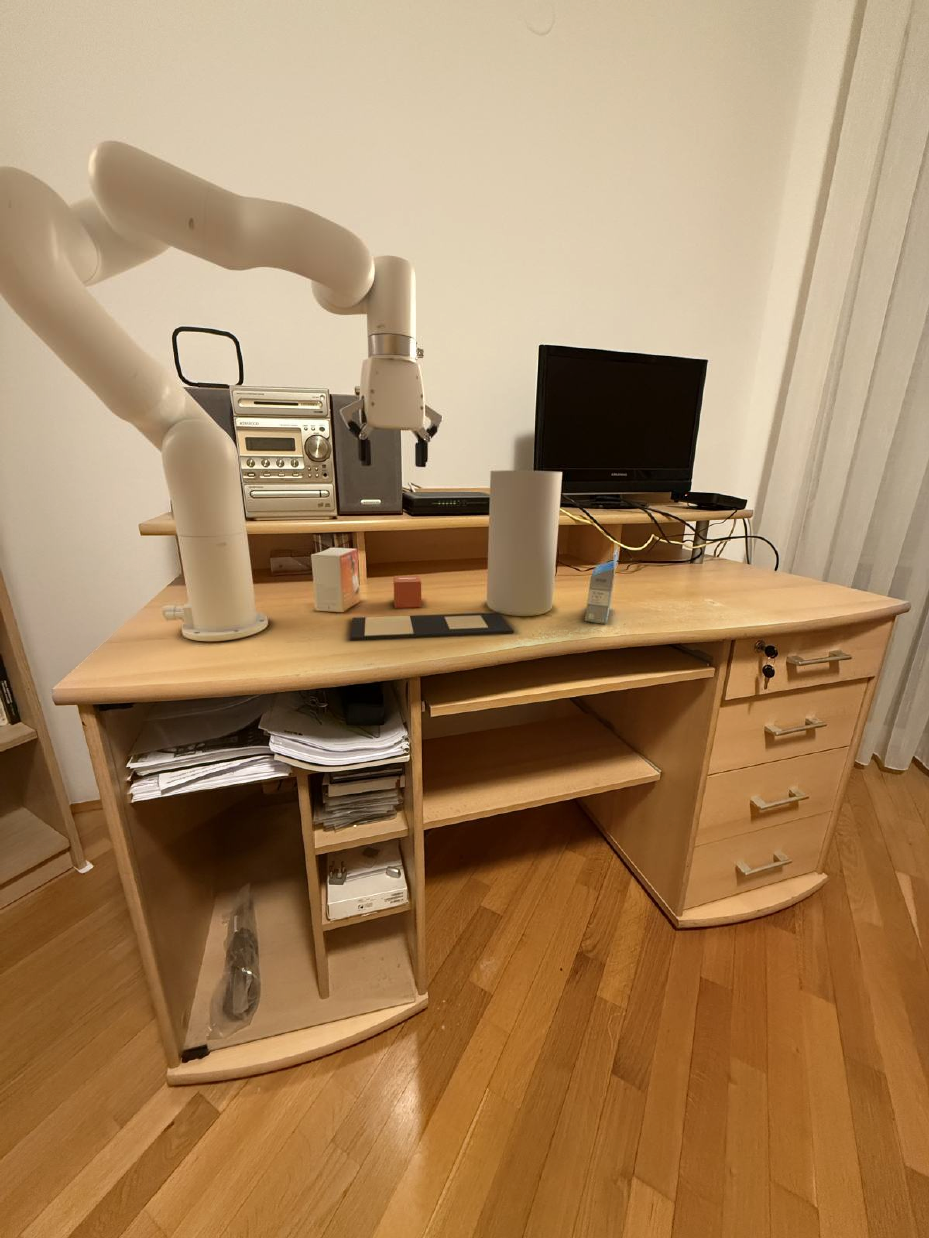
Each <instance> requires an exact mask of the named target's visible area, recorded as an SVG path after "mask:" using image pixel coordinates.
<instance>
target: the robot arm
mask: <svg viewBox="0 0 929 1238" xmlns="http://www.w3.org/2000/svg"><path fill="white" fill-rule="evenodd" d="M87 161H88V162H87V176H88V182H89V185H90V189H91V192H92V194H91V195H89V196H86V197H85V198H82V199H79V200H77V201H74V202H71V203H69V204H68V202H66V201H65V199H64V198H63V197H62V196H61V195H60V194H59V193H58V192H57V191H56V190H55V189H54V188H52V187H51V186H50V185H49V184H47V183H46V182H44V181H43V180H42V179H40V178H38V177H37V176H35V175H34V174H32V173H29V172H28V171H25V170H23V169H21V168H18V167H13V166H9V165H0V296H1V297H2V299H3V300H4V302H6V303H7V305H8V306H9V307H10V308H11V310H12V311H13V312H14V313H15V314H16V315H17V316H18V318H20V320H22V322H23V323H24V324H25V325H26V326H27V327H28V328H29V329H30V330H31V331H32V332H33V333H34V334H35V335H36V336H37V337H38V338H39V339H40V340H41V341H42V342H43V343H44V344H45V345H46V346H47V348H49V349H50V350H51V351H52V352H53V353H54V354H55V355H56V356H57V358H59V359H60V361H61V362H62V363H63V364H64V365H66V367H67V368H69V369H70V370H71V372H73V373H74V374H75V375H76V377H78V378H79V379H80V380H81V382H83V383H84V384H85V385H86V387H88V388H89V390H91V392H92V393H94V395H96V397H97V398H98V399H99V400H100V401H101V402H102V403H103V404H104V406H105V407H106V408H107V409H108V410H109V411H110V412H111V413H112V414H114V415H115V416H116V417H117V418H119V419H120V420H123V421H125V422H127V423H129V424H131V425H132V426H133V427H134V428H135V429H136V430H137V431H138V432H139V433H141V434H142V436H144V437H145V439H146V440H148V441H149V442H150V443H151V444H152V445H153V446H154V447H155V448H156V449H157V450H158V451H159V452H160V453H161V461H162V462H161V463H162V468H163V473H164V477H165V481H166V485H167V489H168V494H169V498H170V503H171V508H172V513H173V514H172V515H173V519H174V527H175V531H176V535H177V541H178V546H179V552H180V559H181V564H182V571H183V577H184V582H185V588H186V595H187V601H188V603H184V605H163V606H162V610H161V613H162V616H163V618H164V619H165V621H168V622H169V621H180V620H181V621H182V622H184V623H183V624H182V626H181V634H182V636H183V637H185V638H186V639H188V640H190V641H191V640H192V641H198V642H223V641H232V640H237V639H242V638H245V637H246V638H247V637H250V636H253V635H255V634H258V633H260V632H261V631H263V630H265V629H266V628H267V627H268V625H269V621H268V620H269V619H268V616H266V615H265V614H264V613H262V612H258V611H257V605H256V597H255V587H254V581H253V574H252V573H253V571H252V564H251V556H250V546H249V540H248V531H247V525H246V516H245V510H244V501H243V493H242V492H243V491H242V483H241V473H240V462H239V454H238V449H237V446H236V444H235V442H234V441H233V439H232V437H230V435H229V434H228V433H227V432H226V431H225V430H224V429H223V428H222V427H221V426H220V425H219V424H218V423H217V422H216V421H215V420H214V419H213V418H212V417H211V415H210V414H209V413H207V412H206V410H205V409H204V408H203V407H202V406H201V405H200V404H199V402H197V401H196V400H195V399H194V398H193V397H192V395H191V394H190V392H188V391H187V390H186V389H185V388H184V387H183V386H182V385H181V383H179V381H178V380H177V379H176V378H175V377H174V376H173V375H172V373H171V372H170V371H168V369H167V368H166V367H165V366H164V365H163V364H161V363H160V362H159V361H158V360H157V359H155V358H154V357H153V356H151V355H150V354H149V353H148V352H147V351H146V350H144V348H143V347H142V346H140V344H139V343H138V342H137V341H136V340H135V339H134V338H133V337H132V336H131V335H130V333H128V332H127V331H126V330H125V329H124V328H123V326H122V325H121V324H120V323H118V321H117V320H116V319H115V318H114V317H113V316H112V315H111V313H110V312H109V311H108V310H107V308H106V307H104V305H102V303H101V302H100V301H99V300H98V299H97V298H96V297H95V295H93V293H92V292H91V291H90V290H89V289H88V287H91V286H93V285H96V284H99V283H102V282H104V281H106V280H109V279H111V278H113V277H115V276H117V275H120V274H123V273H124V272H127V271H129V270H131V269H134V268H136V267H138V266H141V265H143V264H145V263H147V262H149V261H151V260H153V259H154V258H157V257H158V256H161V255H162V254H164V253H165V252H166V251H167V250H169V249H170V248H171V247H172V248H174V249H176V250H179V251H182V252H185V253H187V254H190V255H192V256H195V257H196V258H199V259H201V260H204V261H207V262H209V263H212V264H214V265H215V266H219V267H221V268H223V269H225V270H229V271H240V272H241V271H248V270H252V269H256V268H257V269H258V268H271V269H279V270H283V271H285V272H289V273H293V274H296V275H298V276H300V277H304V278H305V279H308V280H310V288H311V292H312V295H313V296H314V299H315V300H316V302H317V304H318V305H319V306H320V307H321V308H322V309H324V310H325V311H327V312H329V313H330V314H334V315H339V316H355V315H357V316H358V315H366V332H367V333H366V335H367V359H364V360H362V363H361V364H362V365H361V372H360V380H359V381H360V382H359V383H360V384H359V399H357V400H356V401H354V402H352V403H350V404H348V405H346V406H344V407H342V408H341V409H339V414H340V415H339V416H340V417H341V418H342V420H343V422H344V424H345V426H346V427H345V428H346V429H347V430H348V431H349V432H350V433H351V434H352V435H353V436H354V438H355V440H356V441H357V455H358V456H357V457H358V461H360V462H361V466H362V467H371V466H372V449H371V448H372V447H371V445H372V443H371V440H370V439H369V436H370V434H371V433H372V432H373V430H386V431H387V430H389V431H411V433H412V434H413V436H414V437H415V438H416V440H417V442H416V443H415V444H414V462H415V463H414V465H415V467H416V468H426V467H427V463H428V461H429V443H430V442H431V440H432V439H433V437H434V436H435V435H436V434H437V433H438V430H439V428H440V426H441V423H442V421H443V415H441V414H440V413H438V412H437V411H436V410H434V409H433V408H431V407H429V406H428V405H426V401H425V389H424V382H423V375H422V370H421V366H420V363H417V361H418V359H423V358H424V356H425V351H424V349H423V348H420V347H418V342H417V301H416V300H417V299H416V297H417V296H416V295H417V293H416V292H417V290H416V289H417V288H416V286H417V285H416V282H417V281H416V271H415V268H414V266H413V264H412V263H411V262H410V261H408V260H407V259H405V258H403V257H399V256H396V255H377V256H374V257H373V256H372V255H373V254H372V253H371V251H370V249H369V248H368V246H367V244H366V243H365V242H364V241H363V240H362V239H361V238H360V237H358V235H357V234H356V233H353V232H352V231H350V230H349V229H348V228H346V227H344V226H343V225H340V224H338V223H336V222H334V221H332V220H330V219H328V218H326V217H324V216H322V215H320V214H317V213H315V212H313V211H311V210H309V209H306V208H304V207H301V206H298V205H294V204H291V203H287V202H282V201H276V200H269V199H264V198H260V197H251V196H243V195H240V194H237V193H234V192H232V191H230V190H228V189H225V188H223V187H221V186H220V185H217V184H214V183H213V182H210V181H209V180H206V179H204V178H202V177H199V176H197V175H195V174H193V173H191V172H189V171H187V170H185V169H182V168H181V167H178V166H176V165H174V164H172V163H170V162H168V161H166V160H163V159H161V158H159V157H157V156H155V155H152V154H151V153H148V152H146V151H145V150H142V149H139V148H138V147H135V146H133V145H131V144H128V143H126V142H122V141H118V140H104V141H101V142H99V143H97V144H96V145H95V146H94V147H93V148H92V149H91V151H90V154H89V156H88V160H87ZM357 411H358V415H359V423H360V425H361V426H359V425H358V424H357V422H355V419H354V417H353V414H354V413H356V412H357ZM426 418H428V419H429V420H430V424H429V426H428V427H427V428H425V423H426Z"/></svg>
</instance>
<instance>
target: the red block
mask: <svg viewBox="0 0 929 1238" xmlns="http://www.w3.org/2000/svg"><path fill="white" fill-rule="evenodd" d="M392 582H393V602H394V608H395V609H406V608H408V609H409V608H422V603H423V602H422V580H421V576H420V575H393V581H392Z"/></svg>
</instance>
